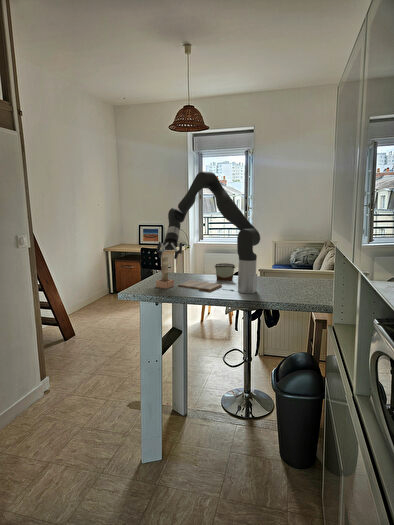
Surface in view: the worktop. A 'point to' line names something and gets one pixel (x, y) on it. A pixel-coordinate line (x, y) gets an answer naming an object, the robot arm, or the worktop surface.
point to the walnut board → (200, 285)
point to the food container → (224, 271)
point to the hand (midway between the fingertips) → (167, 258)
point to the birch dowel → (165, 269)
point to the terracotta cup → (164, 283)
